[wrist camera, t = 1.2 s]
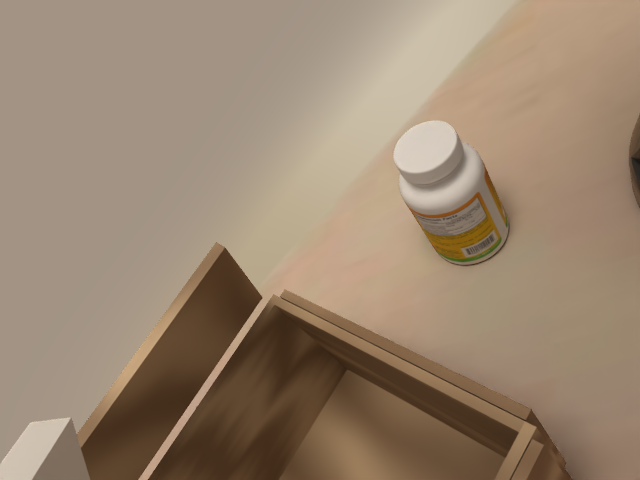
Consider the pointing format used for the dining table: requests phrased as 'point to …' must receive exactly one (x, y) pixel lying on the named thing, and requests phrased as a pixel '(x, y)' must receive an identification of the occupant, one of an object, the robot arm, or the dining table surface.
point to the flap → (168, 370)
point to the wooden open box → (350, 412)
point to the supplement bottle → (450, 193)
